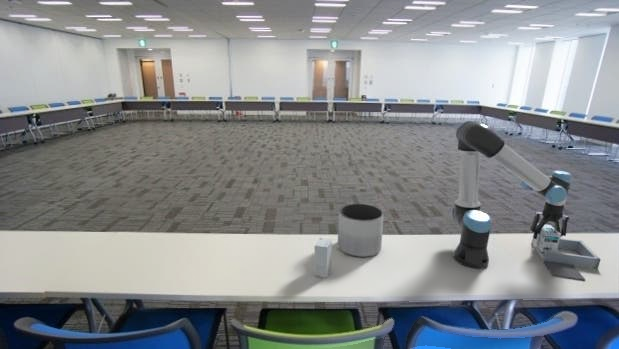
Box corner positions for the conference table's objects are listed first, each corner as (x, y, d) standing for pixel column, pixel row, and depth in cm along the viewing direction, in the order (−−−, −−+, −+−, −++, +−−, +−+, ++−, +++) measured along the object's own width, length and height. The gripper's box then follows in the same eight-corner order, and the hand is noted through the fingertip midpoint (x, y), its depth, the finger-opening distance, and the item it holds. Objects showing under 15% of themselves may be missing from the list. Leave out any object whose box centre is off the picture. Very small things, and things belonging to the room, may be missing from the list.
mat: (552, 275, 145) (553, 274, 145) (543, 261, 156) (543, 260, 156) (585, 280, 142) (585, 279, 142) (572, 266, 153) (573, 265, 153)
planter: (373, 236, 180) (375, 202, 174) (387, 257, 159) (390, 219, 153) (333, 238, 177) (334, 204, 171) (343, 260, 156) (344, 222, 150)
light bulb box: (556, 254, 158) (562, 233, 155) (541, 252, 160) (546, 232, 156) (546, 243, 168) (551, 224, 165) (531, 242, 170) (536, 223, 166)
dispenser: (543, 261, 157) (546, 251, 156) (531, 243, 174) (533, 234, 172) (597, 268, 151) (600, 259, 149) (579, 249, 168) (581, 240, 166)
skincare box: (326, 278, 142) (327, 247, 138) (313, 276, 144) (314, 245, 139) (331, 268, 150) (332, 238, 145) (318, 266, 151) (319, 236, 147)
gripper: (533, 203, 156) (523, 246, 163) (583, 208, 151) (570, 253, 157) (528, 197, 163) (519, 239, 170) (576, 203, 158) (564, 245, 164)
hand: (544, 245), depth 164 cm, fingers closed on light bulb box, 7 cm apart
